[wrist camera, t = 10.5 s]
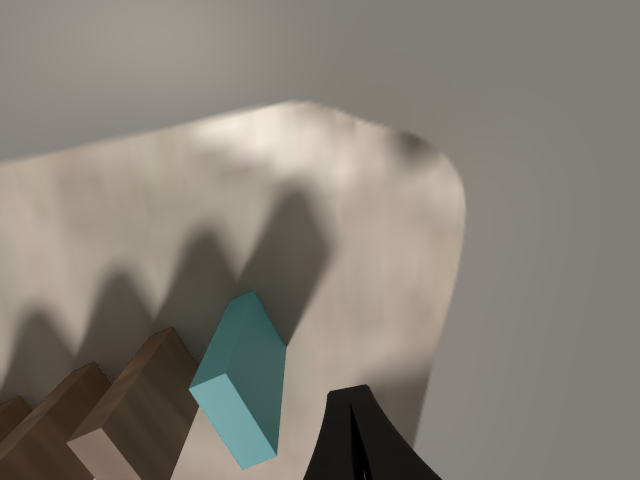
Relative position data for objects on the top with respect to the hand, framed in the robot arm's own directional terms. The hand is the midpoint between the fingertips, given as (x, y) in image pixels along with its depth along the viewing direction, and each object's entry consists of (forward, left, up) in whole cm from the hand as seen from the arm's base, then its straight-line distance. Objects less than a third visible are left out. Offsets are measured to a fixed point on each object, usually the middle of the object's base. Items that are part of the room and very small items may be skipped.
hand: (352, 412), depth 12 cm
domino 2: (0, +10, -10) cm, 14 cm away
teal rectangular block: (0, +5, -10) cm, 11 cm away
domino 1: (0, +16, -10) cm, 19 cm away
